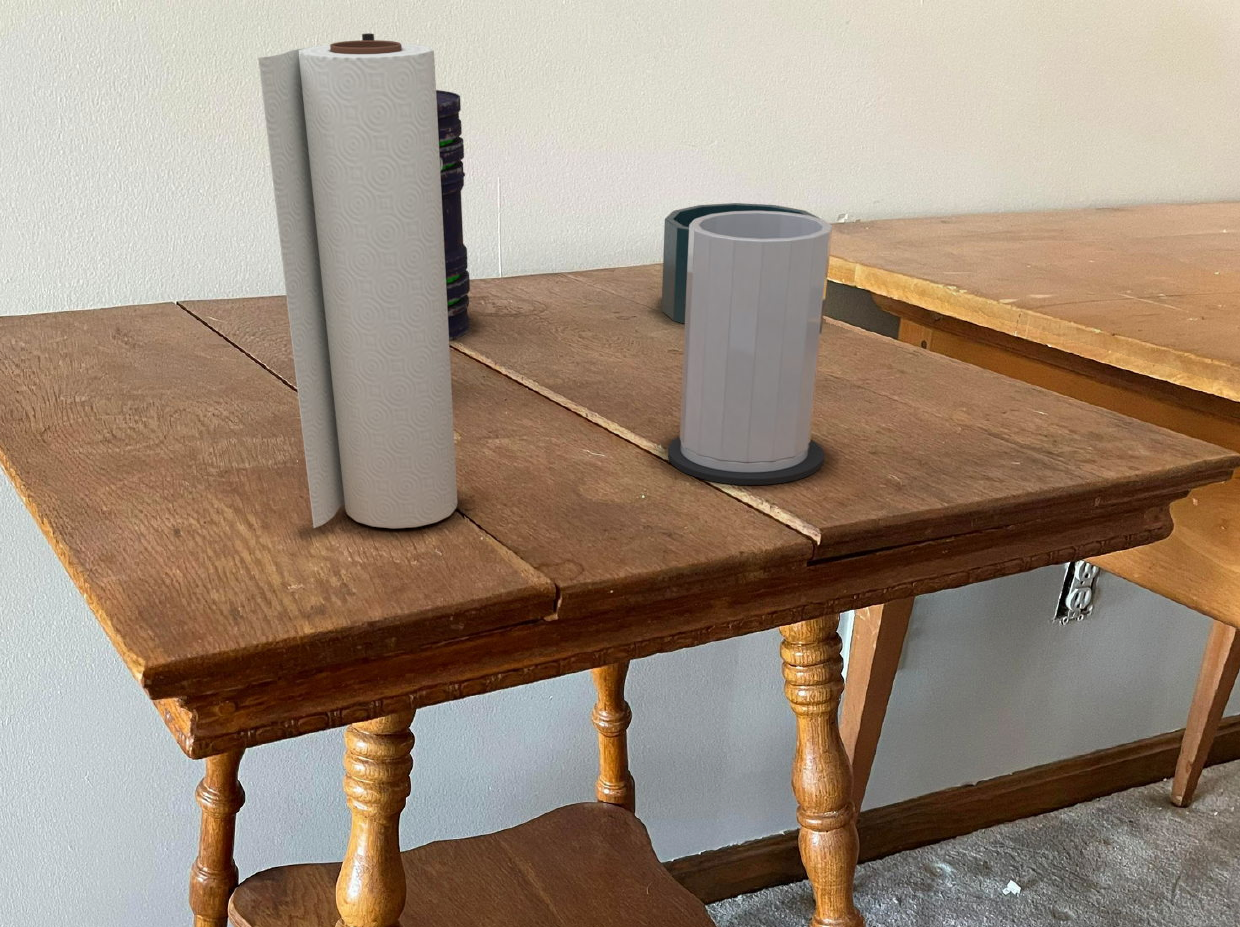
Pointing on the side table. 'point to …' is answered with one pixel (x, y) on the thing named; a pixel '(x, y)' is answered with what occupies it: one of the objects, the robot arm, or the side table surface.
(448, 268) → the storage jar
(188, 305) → the side table surface
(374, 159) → the paper towel roll
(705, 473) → the coaster
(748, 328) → the silver cup
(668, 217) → the pail
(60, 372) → the side table surface
